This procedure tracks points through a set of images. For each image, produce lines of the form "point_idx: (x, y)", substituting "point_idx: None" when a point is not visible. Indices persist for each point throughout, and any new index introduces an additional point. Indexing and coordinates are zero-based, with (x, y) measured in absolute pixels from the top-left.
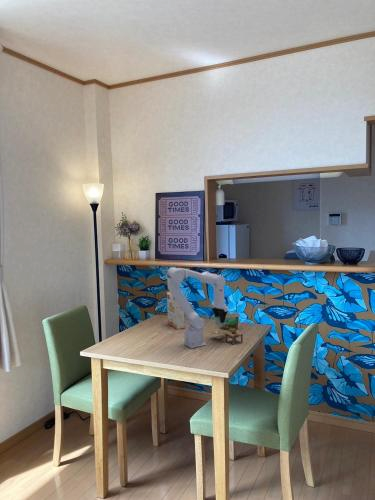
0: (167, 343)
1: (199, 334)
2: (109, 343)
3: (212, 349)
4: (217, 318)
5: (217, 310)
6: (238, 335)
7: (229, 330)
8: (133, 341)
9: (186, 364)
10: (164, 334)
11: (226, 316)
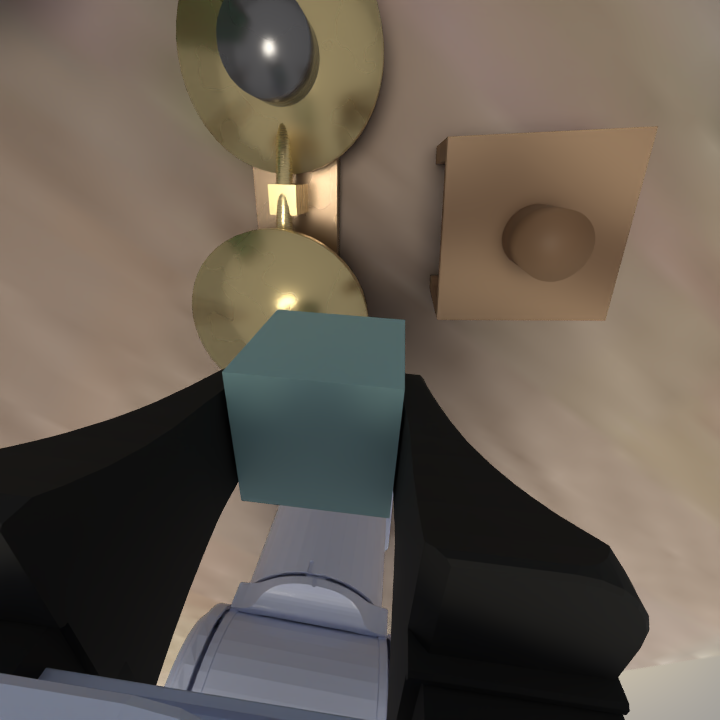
0: (222, 576)
1: (382, 579)
2: None
3: (506, 472)
4: (330, 503)
5: (142, 585)
6: (626, 218)
7: (262, 100)
8: None
9: None
10: None
11: None
